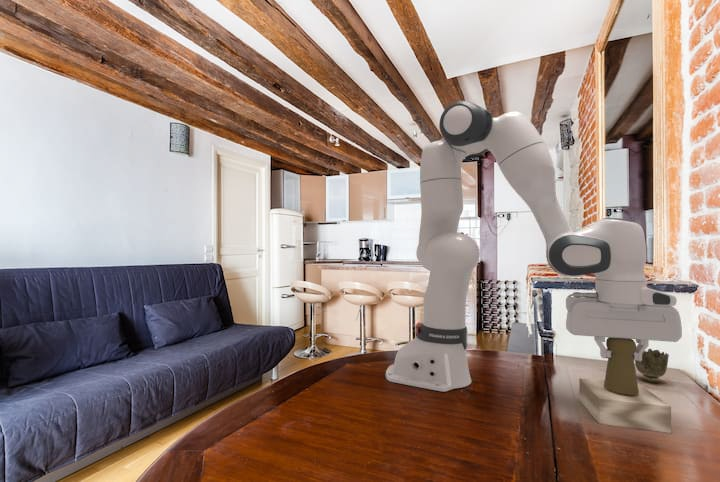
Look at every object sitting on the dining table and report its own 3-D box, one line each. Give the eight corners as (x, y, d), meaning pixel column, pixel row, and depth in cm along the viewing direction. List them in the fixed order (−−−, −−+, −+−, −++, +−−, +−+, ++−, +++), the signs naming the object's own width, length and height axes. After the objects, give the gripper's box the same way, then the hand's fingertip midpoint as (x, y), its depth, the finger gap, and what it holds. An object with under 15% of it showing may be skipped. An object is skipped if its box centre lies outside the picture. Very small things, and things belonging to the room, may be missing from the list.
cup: (638, 383, 93) (638, 353, 93) (629, 374, 100) (629, 346, 100) (674, 388, 90) (674, 356, 91) (662, 378, 97) (661, 349, 97)
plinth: (599, 423, 70) (599, 398, 71) (579, 399, 82) (579, 378, 82) (671, 433, 67) (671, 406, 67) (639, 406, 79) (639, 384, 79)
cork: (646, 395, 71) (645, 341, 72) (613, 393, 72) (613, 339, 73) (627, 384, 77) (627, 334, 78) (598, 382, 78) (598, 332, 79)
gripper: (570, 293, 75) (570, 358, 75) (686, 297, 70) (687, 368, 69) (561, 290, 81) (562, 350, 81) (668, 294, 76) (668, 359, 75)
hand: (620, 358), depth 75 cm, fingers closed on cork, 4 cm apart
